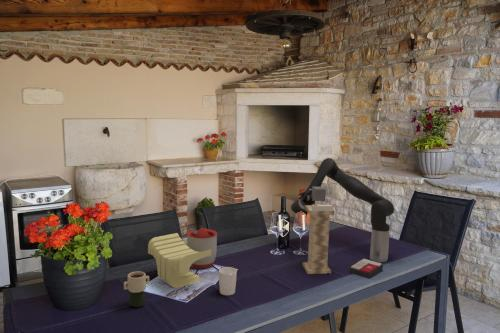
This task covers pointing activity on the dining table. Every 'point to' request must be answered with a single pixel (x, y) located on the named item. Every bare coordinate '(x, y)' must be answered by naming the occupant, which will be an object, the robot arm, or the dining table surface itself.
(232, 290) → the white cup
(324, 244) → the pedestal column stand
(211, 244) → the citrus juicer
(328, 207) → the power strip
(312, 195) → the charger
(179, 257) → the slatted curved stool
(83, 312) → the dining table surface
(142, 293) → the character mug
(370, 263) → the black red flat box
